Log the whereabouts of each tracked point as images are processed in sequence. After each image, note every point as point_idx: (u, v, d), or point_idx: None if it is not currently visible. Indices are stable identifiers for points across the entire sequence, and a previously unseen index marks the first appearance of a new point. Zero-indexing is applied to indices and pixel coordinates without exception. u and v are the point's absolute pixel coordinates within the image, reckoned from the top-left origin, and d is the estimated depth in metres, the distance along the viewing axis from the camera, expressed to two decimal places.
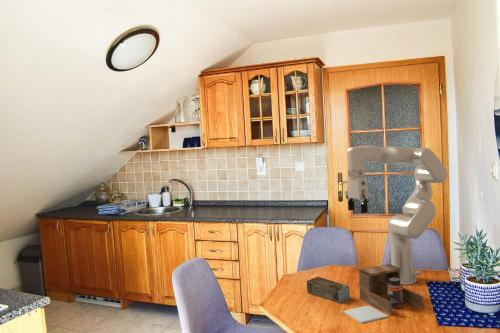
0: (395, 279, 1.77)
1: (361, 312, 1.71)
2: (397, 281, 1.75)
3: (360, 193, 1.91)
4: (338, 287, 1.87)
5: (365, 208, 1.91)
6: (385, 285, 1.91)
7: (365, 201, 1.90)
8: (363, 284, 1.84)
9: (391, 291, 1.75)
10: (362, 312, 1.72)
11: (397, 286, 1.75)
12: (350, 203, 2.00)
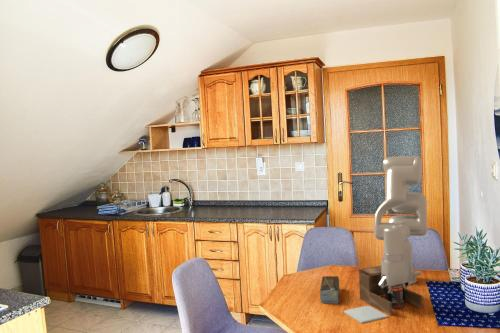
0: None
1: (361, 312, 1.71)
2: None
3: None
4: (327, 288, 1.87)
5: None
6: None
7: (407, 285, 1.78)
8: (363, 284, 1.84)
9: (391, 291, 1.75)
10: (362, 312, 1.72)
11: (397, 286, 1.75)
12: None
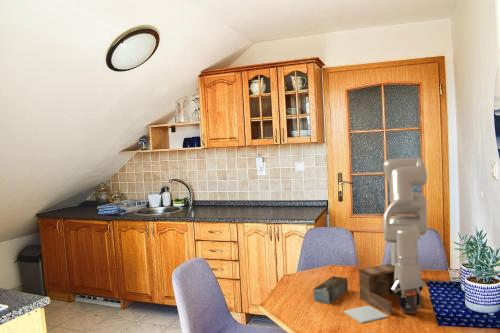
0: None
1: (361, 312, 1.71)
2: None
3: None
4: (321, 287, 1.88)
5: None
6: (385, 285, 1.91)
7: (421, 289, 1.71)
8: (363, 284, 1.84)
9: (405, 295, 1.68)
10: (362, 312, 1.72)
11: (411, 290, 1.67)
12: None
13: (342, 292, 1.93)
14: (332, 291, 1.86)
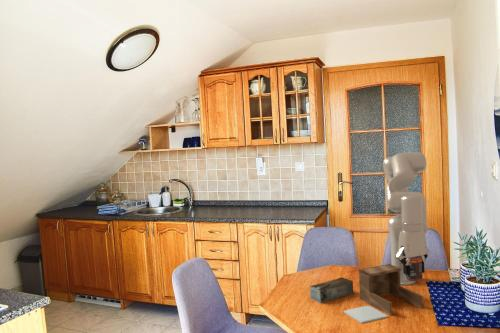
0: None
1: (361, 312, 1.71)
2: None
3: None
4: (317, 286, 1.90)
5: None
6: (385, 285, 1.91)
7: (426, 257, 1.67)
8: (363, 284, 1.84)
9: (410, 263, 1.64)
10: (362, 312, 1.72)
11: (416, 258, 1.63)
12: None
13: (342, 294, 1.91)
14: (326, 291, 1.87)
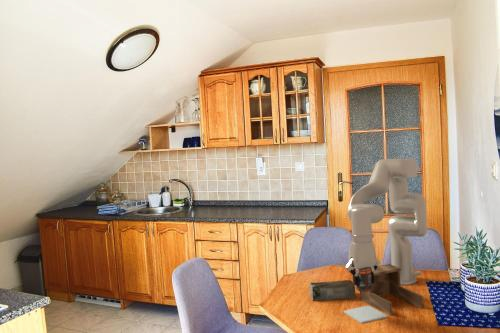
0: None
1: (361, 312, 1.71)
2: None
3: None
4: (316, 284, 1.93)
5: None
6: (385, 285, 1.91)
7: (376, 268, 1.71)
8: None
9: (359, 274, 1.68)
10: (362, 312, 1.72)
11: (365, 269, 1.67)
12: None
13: (340, 296, 1.88)
14: (320, 290, 1.88)
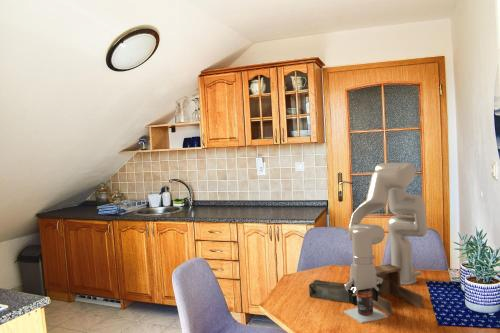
0: None
1: None
2: None
3: None
4: (317, 282, 1.96)
5: None
6: (385, 285, 1.91)
7: (380, 286, 1.72)
8: None
9: (360, 297, 1.68)
10: None
11: (366, 292, 1.68)
12: None
13: (335, 298, 1.87)
14: (316, 288, 1.91)
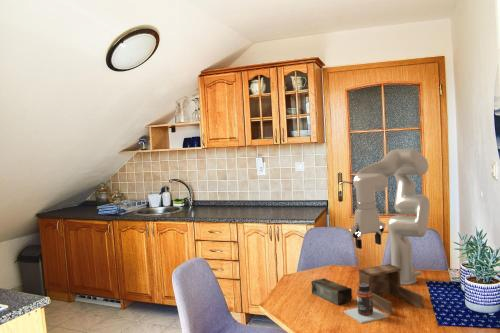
0: (364, 285, 1.70)
1: None
2: (366, 287, 1.68)
3: None
4: (322, 280, 1.98)
5: None
6: (385, 285, 1.91)
7: None
8: None
9: (360, 297, 1.68)
10: None
11: (366, 292, 1.68)
12: None
13: (328, 298, 1.87)
14: (316, 285, 1.94)
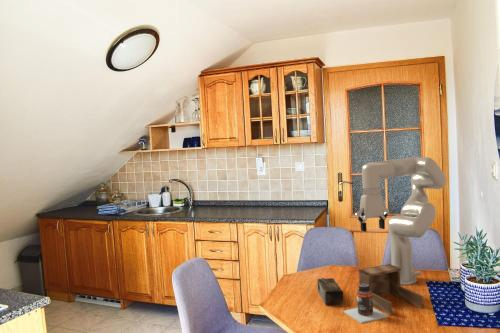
0: (364, 285, 1.70)
1: None
2: (366, 287, 1.68)
3: None
4: (328, 279, 1.98)
5: None
6: (385, 285, 1.91)
7: (386, 216, 1.95)
8: None
9: (360, 297, 1.68)
10: None
11: (366, 292, 1.68)
12: None
13: (322, 297, 1.88)
14: (319, 284, 1.97)
